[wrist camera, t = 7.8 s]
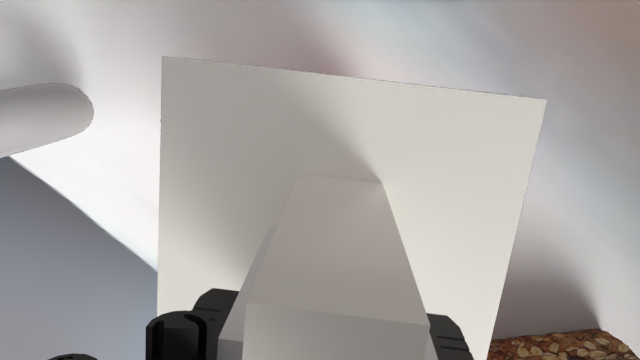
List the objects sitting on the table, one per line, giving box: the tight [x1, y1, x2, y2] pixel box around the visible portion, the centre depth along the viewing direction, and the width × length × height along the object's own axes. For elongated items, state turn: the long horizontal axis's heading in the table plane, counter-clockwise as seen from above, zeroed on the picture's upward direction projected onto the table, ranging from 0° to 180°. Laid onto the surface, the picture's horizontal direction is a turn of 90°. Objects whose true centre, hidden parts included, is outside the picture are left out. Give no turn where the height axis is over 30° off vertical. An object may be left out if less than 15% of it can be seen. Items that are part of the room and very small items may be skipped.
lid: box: [157, 56, 547, 360], centre depth 13 cm, size 13×13×10 cm
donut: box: [0, 83, 94, 158], centre depth 29 cm, size 10×4×10 cm, turn 107°
